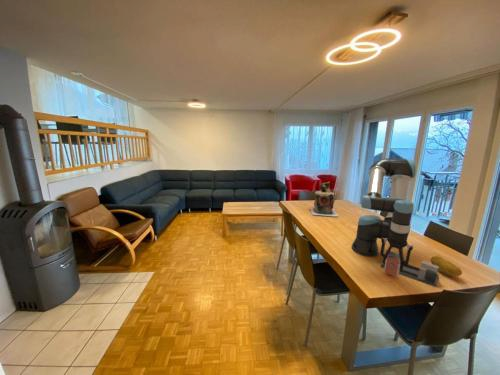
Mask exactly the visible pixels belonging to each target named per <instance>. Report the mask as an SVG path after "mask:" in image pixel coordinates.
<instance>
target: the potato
mask: <svg viewBox="0 0 500 375" xmlns="http://www.w3.org/2000/svg"><path fill="white" fill-rule="evenodd" d="M430 264H433V265H436V266H438V267H439V270H438V272H439V273H441V274H444V275H447V276H449V277H459V276H461V275H463V270H462V269H461V268H460V267H459V266H457V265H455V263H452V262H450V261H449V260H446V259H445V258H443V257H441V256H439V255H433V256H431V257H430Z"/></svg>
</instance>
